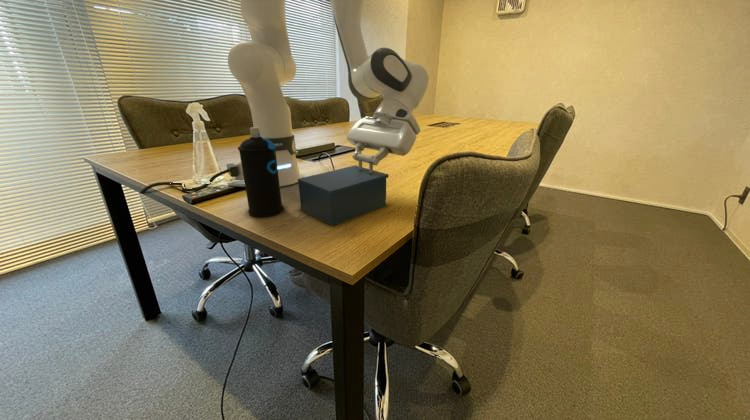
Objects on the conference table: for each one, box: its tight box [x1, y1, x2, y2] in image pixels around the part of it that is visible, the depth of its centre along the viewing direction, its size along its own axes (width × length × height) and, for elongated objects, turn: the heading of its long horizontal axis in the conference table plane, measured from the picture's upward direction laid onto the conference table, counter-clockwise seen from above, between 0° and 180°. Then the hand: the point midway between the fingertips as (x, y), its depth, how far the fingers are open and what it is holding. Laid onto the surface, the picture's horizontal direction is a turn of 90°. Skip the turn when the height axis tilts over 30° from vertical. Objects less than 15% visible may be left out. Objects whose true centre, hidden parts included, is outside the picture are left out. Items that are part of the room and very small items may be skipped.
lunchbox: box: [297, 178, 387, 227], centre depth 76 cm, size 18×13×7 cm
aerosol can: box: [237, 126, 284, 218], centre depth 71 cm, size 8×8×20 cm
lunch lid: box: [297, 153, 390, 195], centre depth 73 cm, size 18×13×5 cm
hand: (363, 161), depth 77 cm, fingers closed on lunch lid, 5 cm apart
